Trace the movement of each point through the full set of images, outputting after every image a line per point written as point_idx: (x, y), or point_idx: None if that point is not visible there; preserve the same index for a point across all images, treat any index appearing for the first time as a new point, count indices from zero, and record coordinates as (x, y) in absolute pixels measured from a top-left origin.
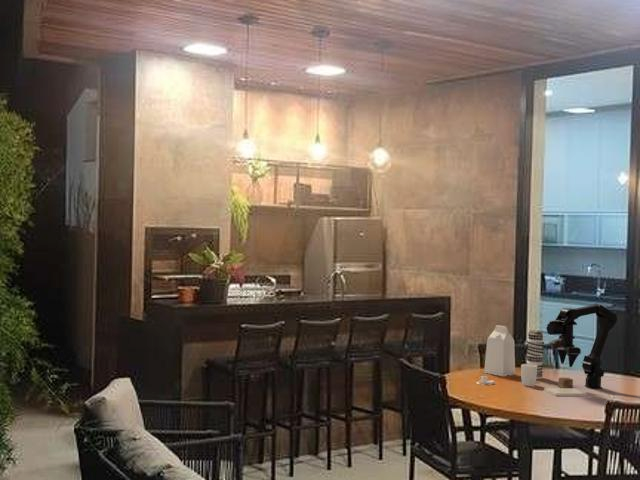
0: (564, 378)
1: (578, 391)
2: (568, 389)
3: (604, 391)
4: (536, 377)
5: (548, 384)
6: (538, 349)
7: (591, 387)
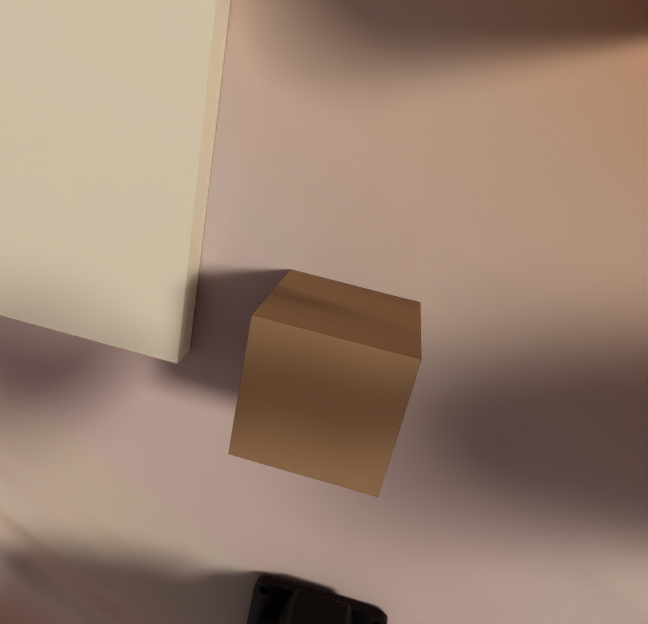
0: (323, 390)
1: (2, 269)
2: (115, 226)
3: (135, 589)
4: None
5: (640, 300)
6: None
7: (266, 593)
